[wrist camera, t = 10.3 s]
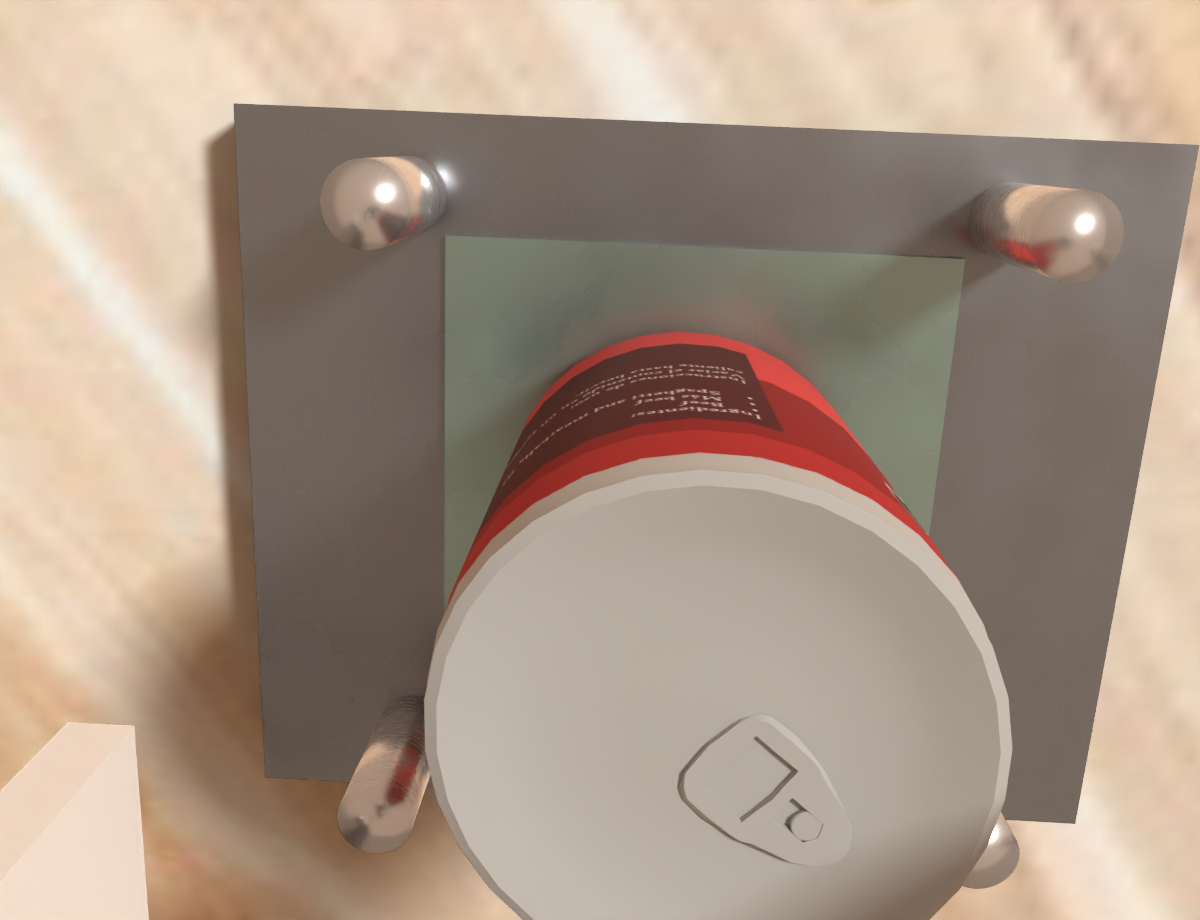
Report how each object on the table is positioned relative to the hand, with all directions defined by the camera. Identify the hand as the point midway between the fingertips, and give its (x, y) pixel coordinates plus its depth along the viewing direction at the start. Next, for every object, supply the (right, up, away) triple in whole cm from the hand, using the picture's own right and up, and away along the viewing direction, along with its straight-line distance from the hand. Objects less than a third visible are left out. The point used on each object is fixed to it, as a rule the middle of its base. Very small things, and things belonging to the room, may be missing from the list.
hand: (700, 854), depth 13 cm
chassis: (+1, +4, +14) cm, 15 cm away
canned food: (+1, +4, +12) cm, 13 cm away
